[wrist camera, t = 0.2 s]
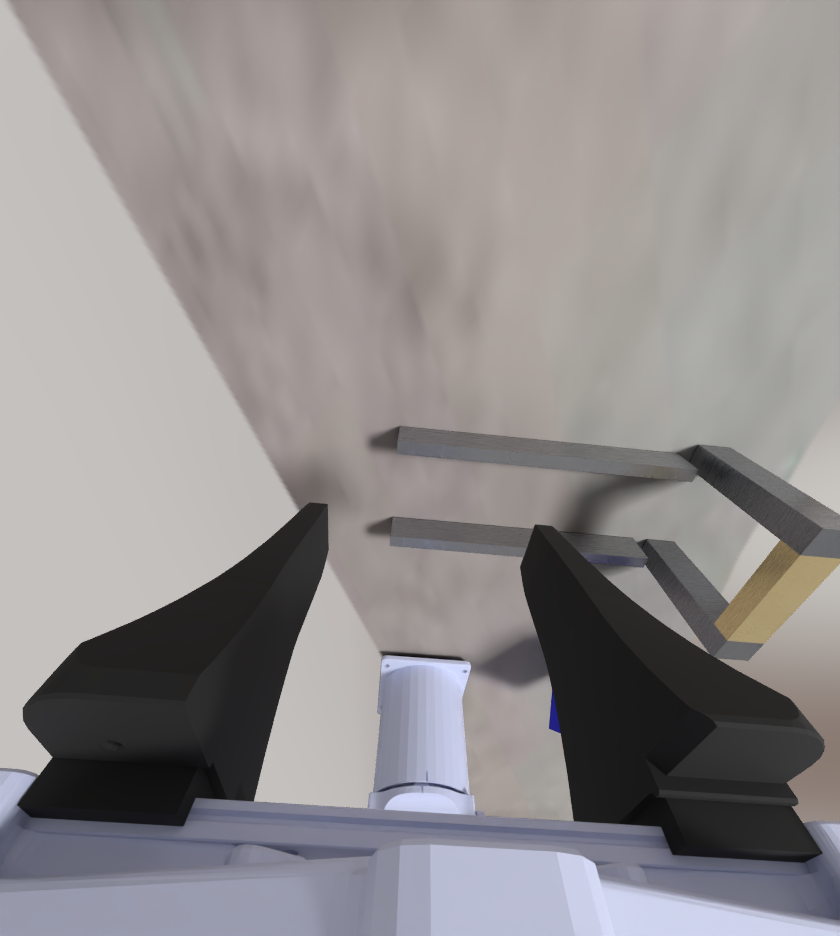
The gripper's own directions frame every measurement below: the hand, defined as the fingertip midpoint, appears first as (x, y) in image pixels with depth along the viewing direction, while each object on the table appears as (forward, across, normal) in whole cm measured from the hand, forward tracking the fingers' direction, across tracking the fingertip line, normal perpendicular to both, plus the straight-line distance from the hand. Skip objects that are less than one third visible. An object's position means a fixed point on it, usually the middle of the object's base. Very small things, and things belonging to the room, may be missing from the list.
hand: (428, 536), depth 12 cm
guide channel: (+10, -7, +4) cm, 13 cm away
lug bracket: (+10, -17, +4) cm, 20 cm away
